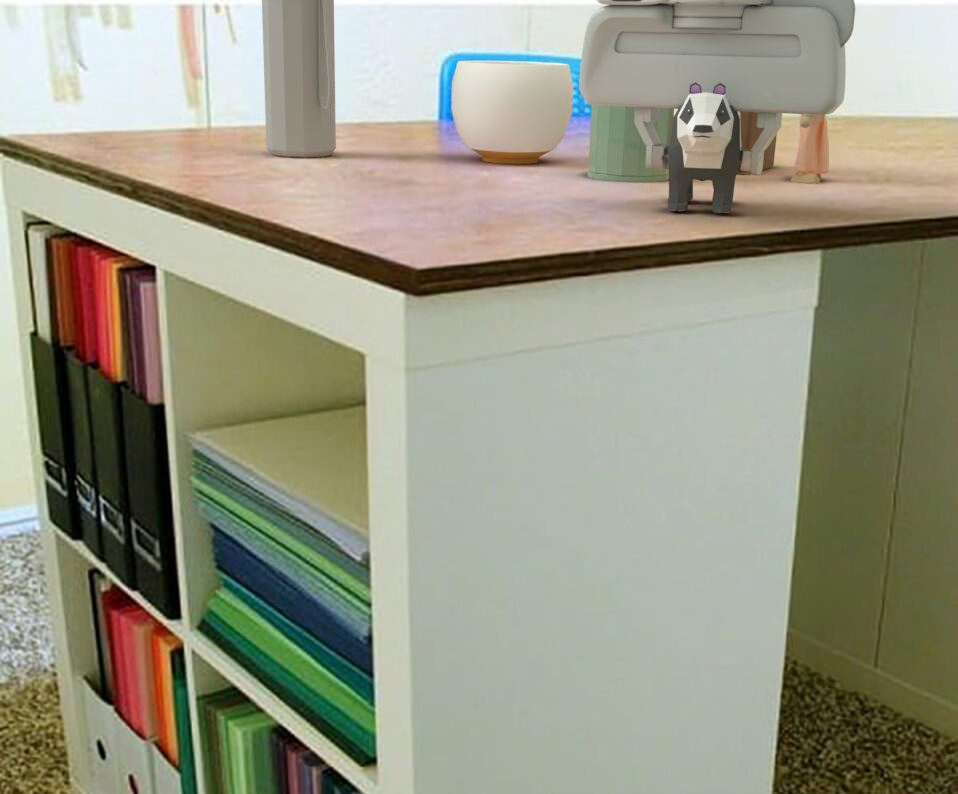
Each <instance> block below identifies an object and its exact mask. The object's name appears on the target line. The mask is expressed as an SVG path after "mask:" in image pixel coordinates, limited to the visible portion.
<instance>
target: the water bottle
mask: <svg viewBox="0 0 958 794" xmlns="http://www.w3.org/2000/svg"><path fill="white" fill-rule="evenodd" d="M261 13H262V14H261V18H262V20H261V21H262V50H263V51H262V52H263V76H264V77H263V79H264V83H263V84H264V108H265V109H264V113H265V115H264V116H265V143H266V144H265V145H266V150H267V151H268V152H269V153H270V154H271V155H273V156H276V157H279V158H280V157H282V158H295V159H296V158H297V159H310V158H311V159H312V158H313V159H314V158H326V157H329V156H331V155H332V154H333V153H334V152H335V150H336V148H337V141H336V140H337V139H336V138H337V136H336V135H337V134H336V133H337V132H336V131H337V130H336V68H335V67H336V65H335V63H336V62H335V60H336V59H335V58H336V57H335V0H261Z"/></svg>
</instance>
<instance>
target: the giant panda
mask: <svg viewBox="0 0 958 794" xmlns="http://www.w3.org/2000/svg"><path fill="white" fill-rule="evenodd" d="M689 93H690V94H689V95H688V97H687V99H686V101H685V102H684V103H683V104H682V106H681V107H680V108H679V109H677V111H675V113H674V117H673V123H672V129H671V135H670V142H669V148H668V166H669V177H668V200H667V210H668V211H672V212H673V211H674V212H676V211H677V212H684V211H687V210H688V209H689V202H691V201H692V200H693V199H694V180H695V181H699V182H704V181H711V183H712V188H713V193H712V202H711V204H712V205H711V212H713V213H720V214H721V213H723V214H729V213H732V212H733V200H734V193H735V183H736V178H737V177H736V176H737V174H736V172H737V168H738V163H739V157H740V150H741V125H740V112H739V111H734V109H733V107H732V105H729V104H728V101H727V98H726V96H725V95H724V94H725V93H726V86H725V85H723V84H721V83H719V84H717V85H716V86H715V87H714V90H713V93H702V90H701V86H700V85H699V84H698V83H696V82H695V83H693V84H692V85H690V90H689Z"/></svg>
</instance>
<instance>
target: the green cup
mask: <svg viewBox="0 0 958 794" xmlns="http://www.w3.org/2000/svg"><path fill="white" fill-rule="evenodd" d="M590 106H591V107H590V125H589V127H590V128H589V143H588V148H589V149H588V160H587V162H588V163H587V170H588V171H587V177H588V178H591V179H593V180H599V181H608V182H621V183H658V182H665V181H669V167H668V168H665V169H656V168H646V147H647V145H645V144H644V142H643V140H642V138H641V135H640V133H639V131H638V129H637V127H636V125H635V123H634V114H635V107H627V106H604V105H590ZM674 115H675V109H672V108H660V115H659V120H658V121H655V122H652V123H653V125H654V127H655V130H656V132H657V134H658V137H659V139H660V141H661V144H668V145H669V142H670V135H671V129H672V123H673V117H674Z"/></svg>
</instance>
